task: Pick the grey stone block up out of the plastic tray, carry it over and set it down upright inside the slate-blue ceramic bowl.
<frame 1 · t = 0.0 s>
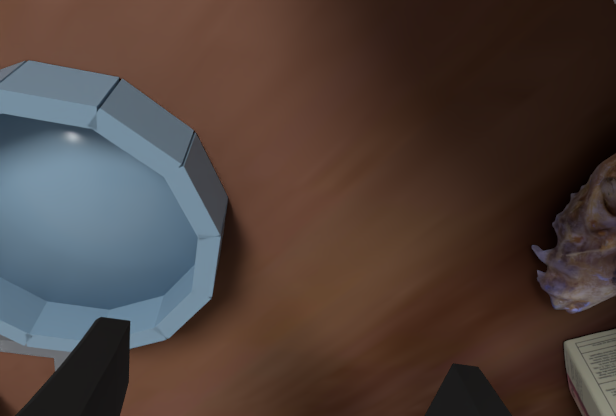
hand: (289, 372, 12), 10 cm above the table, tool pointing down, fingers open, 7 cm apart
small box: (613, 350, 27), on the table
bowl: (79, 206, 22), on the table
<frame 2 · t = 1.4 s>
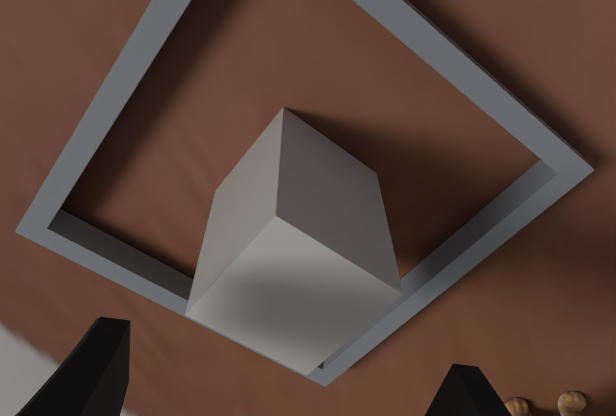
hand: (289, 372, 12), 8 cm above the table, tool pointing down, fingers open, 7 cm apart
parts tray: (295, 182, 19), on the table
stone block: (295, 181, 19), resting in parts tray
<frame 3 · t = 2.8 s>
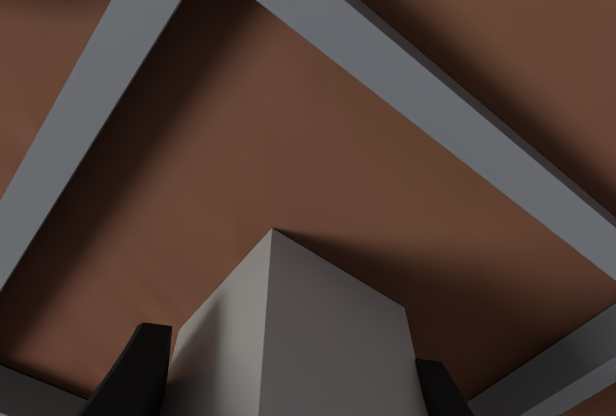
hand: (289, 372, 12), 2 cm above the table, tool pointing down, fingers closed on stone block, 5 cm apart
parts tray: (290, 319, 13), on the table
stone block: (290, 318, 13), resting in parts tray, touching gripper
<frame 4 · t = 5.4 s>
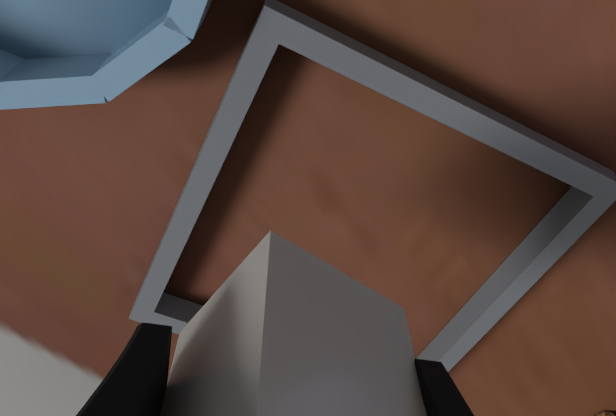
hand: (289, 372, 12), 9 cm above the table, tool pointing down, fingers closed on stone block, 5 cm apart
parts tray: (355, 238, 21), on the table
stone block: (290, 320, 13), point 7 cm above the table, touching gripper
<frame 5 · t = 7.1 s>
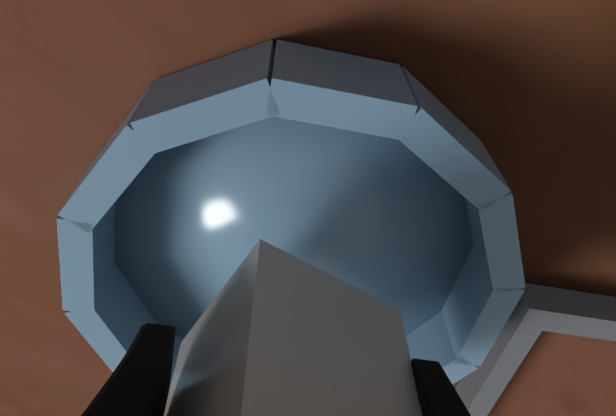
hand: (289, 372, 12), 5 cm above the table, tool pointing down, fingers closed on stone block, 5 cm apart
bowl: (293, 241, 16), on the table
stone block: (288, 326, 14), point 3 cm above the table, touching gripper
when the fingers open (4 cm above the table, at t = 8.3 s): stone block drops 1 cm, resting on bowl.
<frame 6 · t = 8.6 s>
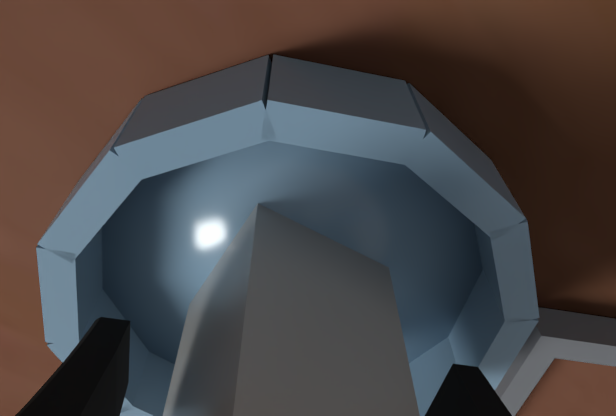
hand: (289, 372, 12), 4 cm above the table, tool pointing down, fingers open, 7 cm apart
bowl: (291, 264, 15), on the table
stone block: (286, 286, 15), point 1 cm above the table, touching bowl
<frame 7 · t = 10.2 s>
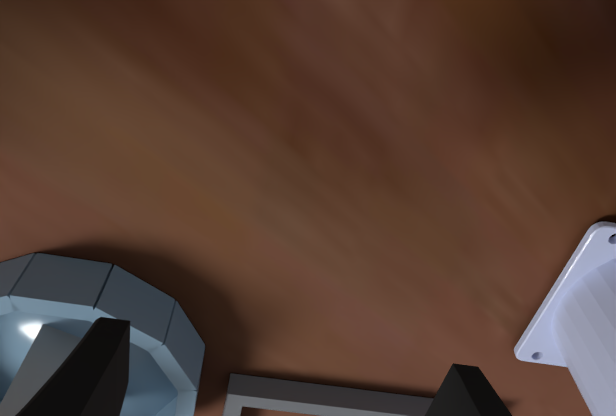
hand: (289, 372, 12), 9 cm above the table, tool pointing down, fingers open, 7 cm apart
bowl: (78, 351, 25), on the table
stone block: (73, 365, 25), point 1 cm above the table, touching bowl
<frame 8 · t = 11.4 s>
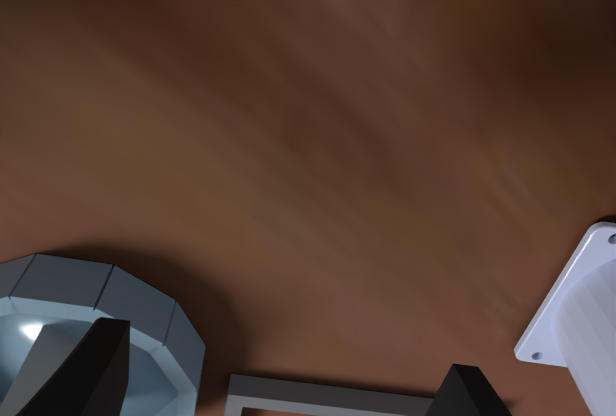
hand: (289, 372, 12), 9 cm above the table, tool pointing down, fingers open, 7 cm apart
bowl: (79, 352, 25), on the table
stone block: (73, 366, 25), point 1 cm above the table, touching bowl
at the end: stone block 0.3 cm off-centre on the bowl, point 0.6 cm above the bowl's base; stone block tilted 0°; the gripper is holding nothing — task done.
